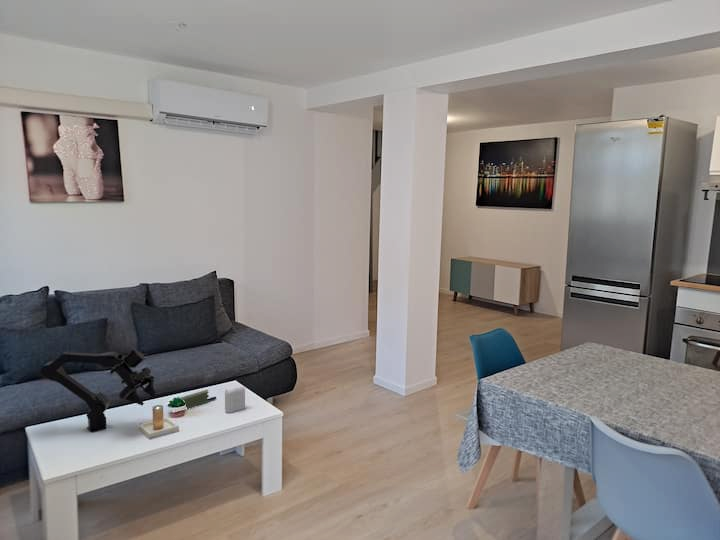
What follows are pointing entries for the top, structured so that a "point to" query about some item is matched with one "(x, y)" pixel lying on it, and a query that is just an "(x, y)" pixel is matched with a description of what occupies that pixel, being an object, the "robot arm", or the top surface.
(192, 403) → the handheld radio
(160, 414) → the battery cell
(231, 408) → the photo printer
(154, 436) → the tray
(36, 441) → the top surface
